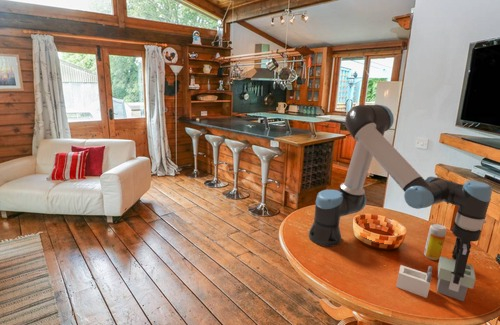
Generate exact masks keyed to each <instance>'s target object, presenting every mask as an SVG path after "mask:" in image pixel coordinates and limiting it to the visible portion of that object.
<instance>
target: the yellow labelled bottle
mask: <svg viewBox="0 0 500 325" xmlns="http://www.w3.org/2000/svg"><path fill="white" fill-rule="evenodd" d="M427 233H428V234H427V238H426V243H425V247H424V251H423V254H424V256H425V257H426V258H427V259H428V260H432V261H439V259H440V256H442V250H443V248H444V247H443V246H444V242H445V238H446V235H447V228H446V226H445V225H442V224H440V223H431V225H430V226H429V230H428V232H427Z"/></svg>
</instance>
